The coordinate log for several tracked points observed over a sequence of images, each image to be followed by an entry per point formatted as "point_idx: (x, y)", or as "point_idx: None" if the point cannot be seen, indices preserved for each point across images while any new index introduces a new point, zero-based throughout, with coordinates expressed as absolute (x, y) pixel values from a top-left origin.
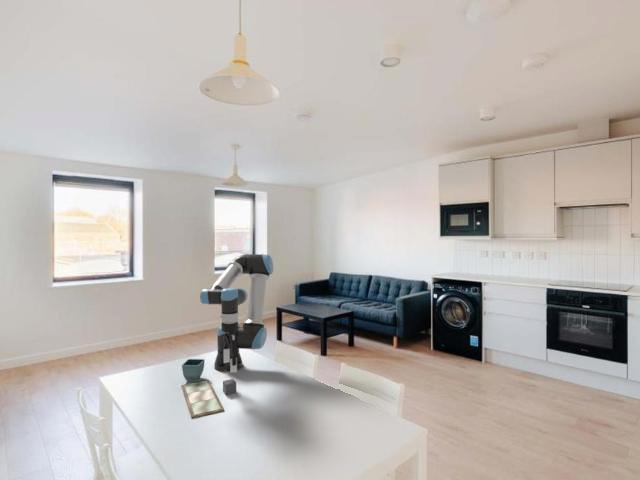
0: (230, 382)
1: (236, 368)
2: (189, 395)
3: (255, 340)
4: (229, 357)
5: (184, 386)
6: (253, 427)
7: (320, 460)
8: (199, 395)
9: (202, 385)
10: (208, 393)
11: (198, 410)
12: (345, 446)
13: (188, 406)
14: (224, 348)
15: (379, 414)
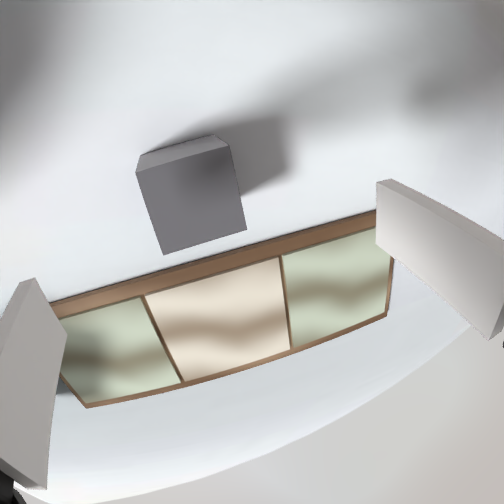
0: (212, 194)
1: (416, 195)
2: (206, 370)
3: None
4: (16, 319)
5: (98, 399)
6: (498, 121)
7: None
8: (219, 335)
9: (91, 341)
10: (205, 300)
11: (362, 307)
12: None
13: (307, 348)
14: (12, 489)
15: None
